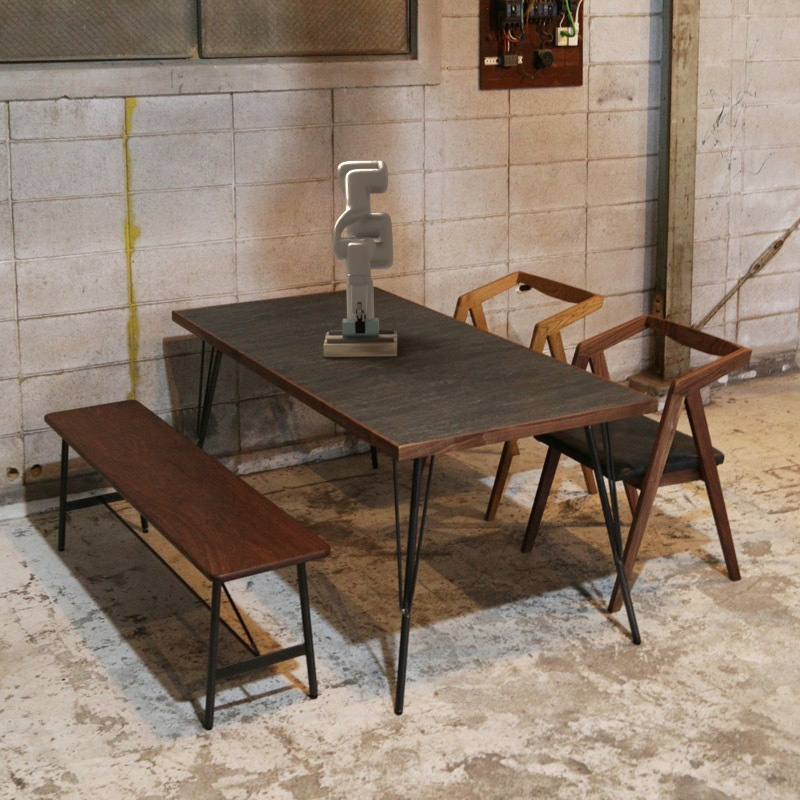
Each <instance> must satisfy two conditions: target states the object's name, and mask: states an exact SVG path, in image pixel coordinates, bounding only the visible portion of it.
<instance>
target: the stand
mask: <svg viewBox="0 0 800 800" xmlns="http://www.w3.org/2000/svg"><path fill="white" fill-rule="evenodd" d="M323 357H324V358H343V357H345V358H346V357H348V358H349V357H359V358H360V357H398V331H397V330H396V331H395V329H379V338H343V337H342V329H340V330H328V331H327V332H326V334H325V337H324V341H323Z"/></svg>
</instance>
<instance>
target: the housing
mask: <svg viewBox="0 0 800 800" xmlns="http://www.w3.org/2000/svg"><path fill="white" fill-rule="evenodd" d="M355 321H356V318H351V319H347V318H342V321H341V327H342V328H341V330H342V337H343V338H379V330H380V319H379V317H374V318H364V321H365V333H363V334H356V333H355Z"/></svg>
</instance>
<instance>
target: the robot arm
mask: <svg viewBox="0 0 800 800" xmlns="http://www.w3.org/2000/svg"><path fill="white" fill-rule="evenodd" d="M337 179H338V183H339V187H340V190H341V192H342V194H343V197H344V198H343V199H344V203H345V204H344V205H345V206H344V207H345V210H344V212H343V213H342V214H341V215H340V216H338V218H337V220H336V221H335V224H334V225H333V228H332V229H333V230H332V252H333V253H332V254H333V256H334V258H335V259H336V260H338V261H343V265H344V270H345V283H346V284H345V286H346V288H345V289H346V290H345V291H346V313H347V314H346V319H351V318H356V321H355V333H356V334H363V333H365V321H364V318H375V302H374V301H375V299H374V298H375V297H374V289H375V287H374V281H373V279H372V276H371V275H372V274H371V273H372V272H371V271H372V270H387V269H390V268H391V267H392V266H393V264H394V243H393V242H394V240H393V239H394V238H393V237H394V236H393V235H394V234H393V224H392V223H393V222H392V218H391V215H389V213H388V212H383V211H371V195H374V194H375V195H376V194H377V195H378V194H385V193H386V192H387V191H388V187H389V172H388V166H387V163H386V162H385V161H383V160H379V159H378V160H377V159H375V160H370V159H369V160H349V161H344V162H340V163H339V164H338V166H337ZM345 229H346V232H347V233H346V234H347V236H348V237H342V232H343V231H344V230H345ZM375 240H377V241H375Z"/></svg>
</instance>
